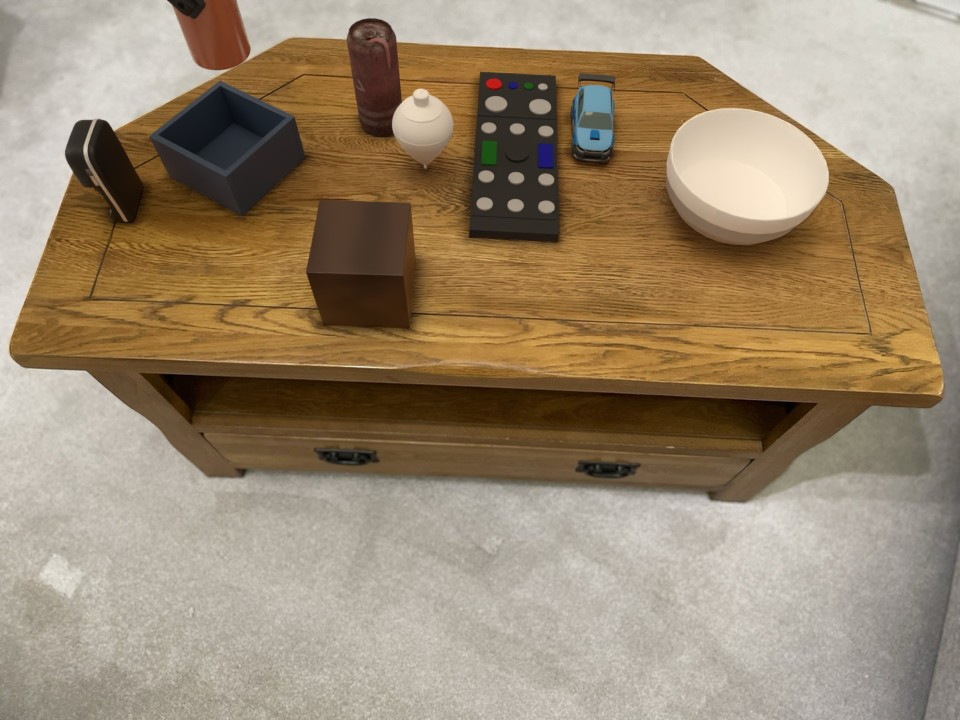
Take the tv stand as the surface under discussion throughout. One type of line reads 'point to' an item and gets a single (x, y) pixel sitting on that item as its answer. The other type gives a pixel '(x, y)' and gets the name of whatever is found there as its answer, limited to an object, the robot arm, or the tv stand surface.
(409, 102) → the spinning top
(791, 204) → the bowl
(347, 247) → the stand
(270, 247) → the tv stand surface
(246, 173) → the tub
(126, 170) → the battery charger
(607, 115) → the toy car
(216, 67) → the orange cylinder rod
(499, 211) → the remote control
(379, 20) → the can
